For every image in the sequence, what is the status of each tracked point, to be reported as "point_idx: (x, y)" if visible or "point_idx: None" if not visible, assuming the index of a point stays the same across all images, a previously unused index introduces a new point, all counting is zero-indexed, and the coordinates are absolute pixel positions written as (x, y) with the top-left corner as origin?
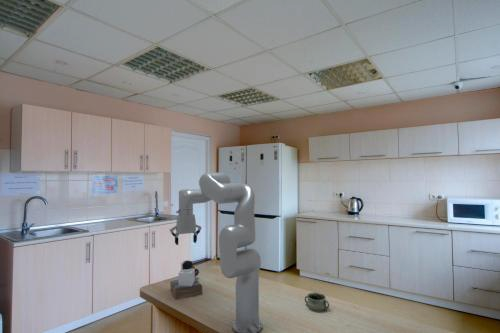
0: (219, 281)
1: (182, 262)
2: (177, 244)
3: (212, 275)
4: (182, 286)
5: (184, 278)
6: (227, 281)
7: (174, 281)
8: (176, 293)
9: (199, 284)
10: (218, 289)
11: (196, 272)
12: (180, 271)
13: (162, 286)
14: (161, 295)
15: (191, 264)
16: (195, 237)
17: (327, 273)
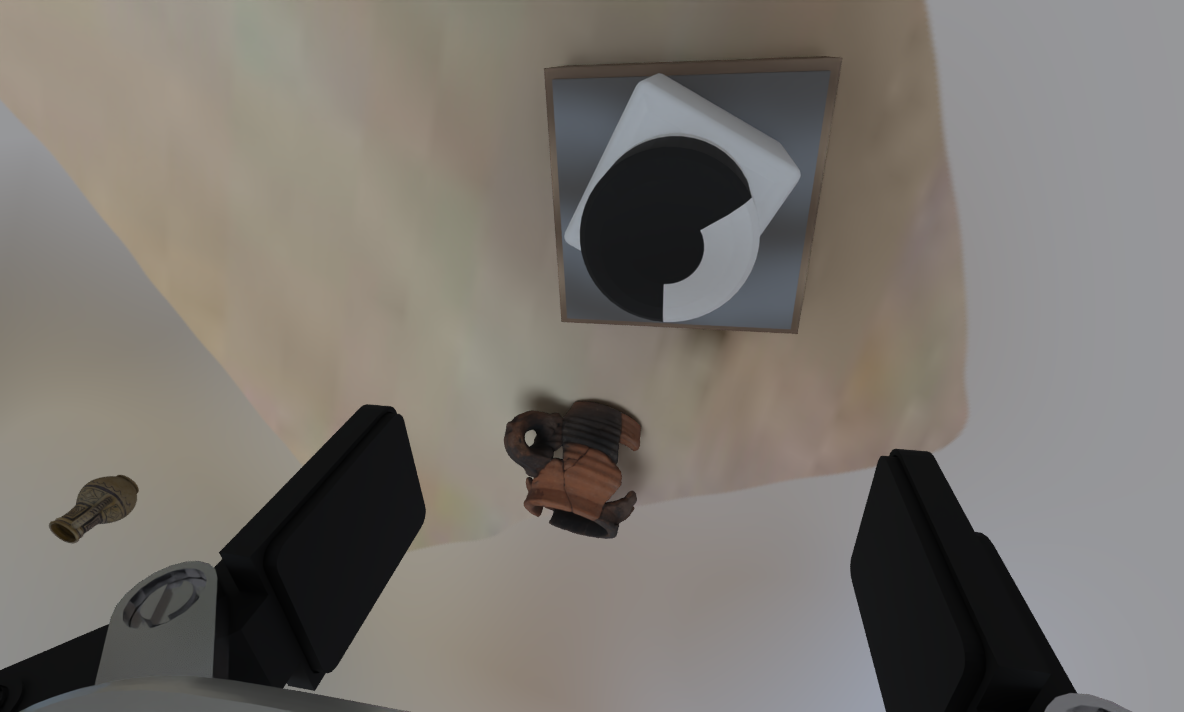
0: (384, 276)
1: (736, 248)
2: (921, 456)
3: (419, 407)
4: None
5: (728, 119)
6: (324, 245)
7: (771, 301)
8: (827, 57)
9: (565, 97)
10: (412, 113)
11: (528, 426)
12: (760, 212)
13: (821, 398)
14: (901, 224)
15: (608, 170)
16: (281, 508)
17: (53, 533)
